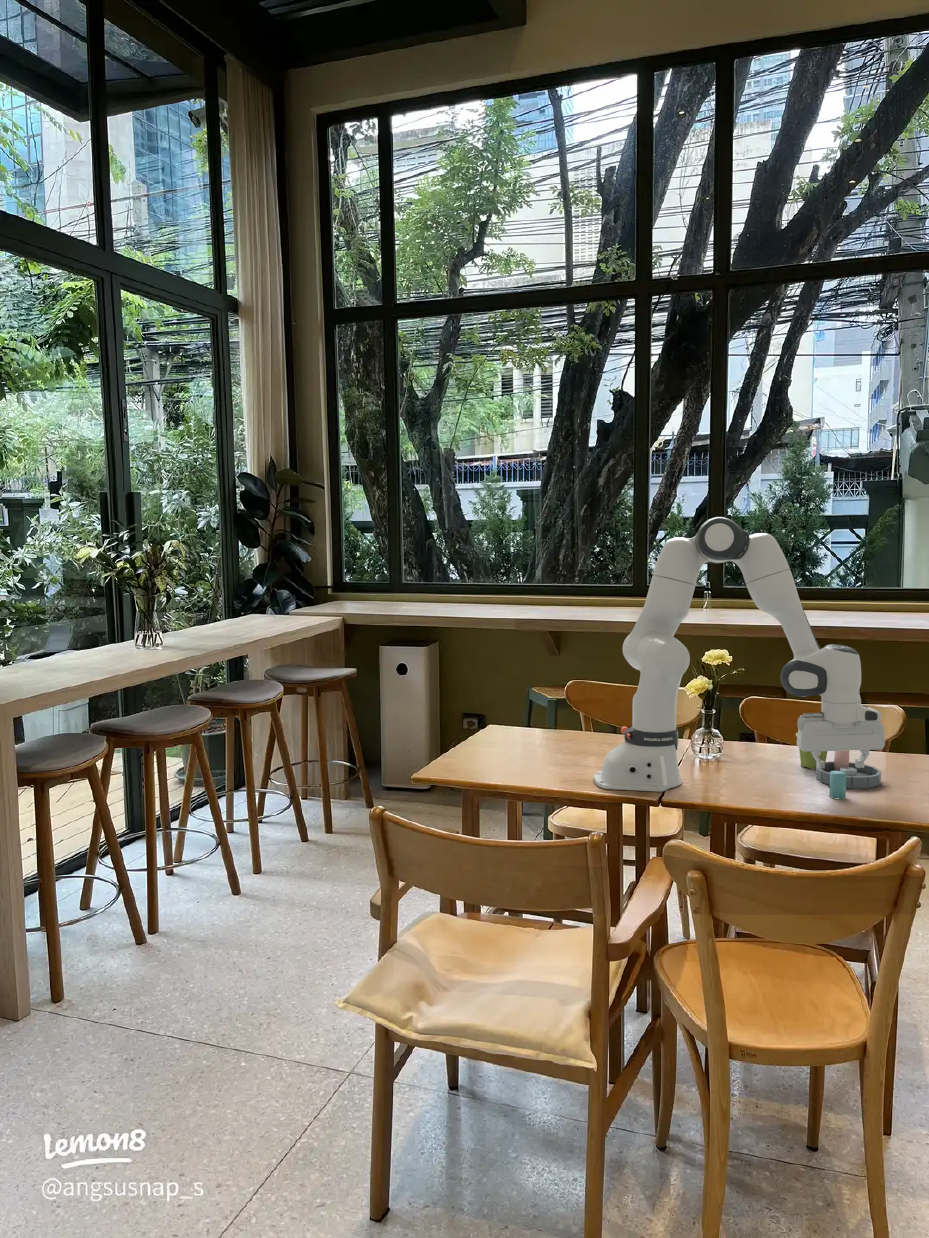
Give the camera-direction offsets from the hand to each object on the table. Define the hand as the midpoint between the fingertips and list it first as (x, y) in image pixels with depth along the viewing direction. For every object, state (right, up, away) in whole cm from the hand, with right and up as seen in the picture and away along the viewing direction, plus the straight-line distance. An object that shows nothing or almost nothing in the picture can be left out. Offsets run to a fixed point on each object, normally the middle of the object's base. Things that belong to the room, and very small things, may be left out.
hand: (840, 767), depth 221 cm
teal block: (-1, -7, 0) cm, 7 cm away
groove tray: (+8, -6, +14) cm, 17 cm away
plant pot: (+4, -4, +28) cm, 29 cm away
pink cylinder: (+8, -4, +18) cm, 20 cm away
